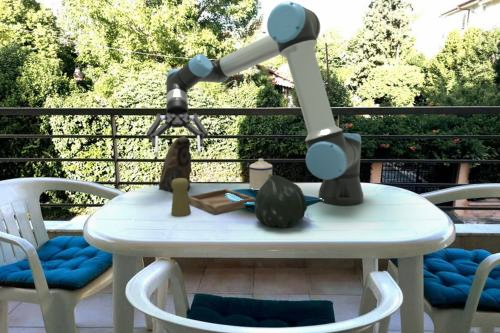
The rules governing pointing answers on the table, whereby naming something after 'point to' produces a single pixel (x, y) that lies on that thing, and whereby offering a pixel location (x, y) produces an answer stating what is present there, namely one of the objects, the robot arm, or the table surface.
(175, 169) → the owl
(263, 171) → the teacup with lid
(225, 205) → the tray
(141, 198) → the table surface
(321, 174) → the robot arm
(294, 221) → the squash
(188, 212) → the cork
